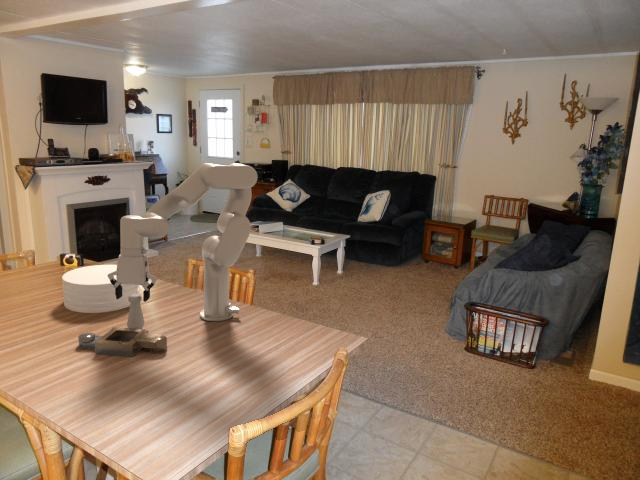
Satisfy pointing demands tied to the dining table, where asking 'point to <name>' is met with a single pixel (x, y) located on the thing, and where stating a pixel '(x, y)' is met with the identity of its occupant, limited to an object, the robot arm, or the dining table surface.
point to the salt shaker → (135, 312)
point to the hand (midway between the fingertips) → (132, 299)
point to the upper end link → (140, 340)
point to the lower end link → (89, 343)
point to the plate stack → (94, 290)
